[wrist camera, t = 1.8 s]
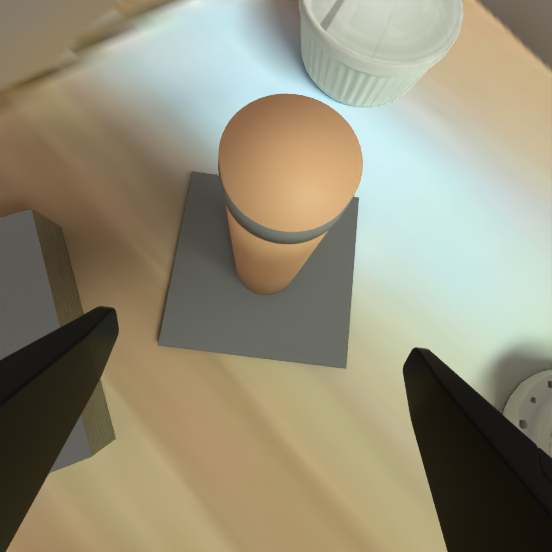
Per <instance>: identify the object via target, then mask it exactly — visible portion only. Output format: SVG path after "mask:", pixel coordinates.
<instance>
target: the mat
mask: <svg viewBox="0 0 552 552" xmlns="http://www.w3.org/2000/svg"><path fill="white" fill-rule="evenodd" d="M358 202H359V198H357V197H353V199H352V200H351V202H350V204H349V206H348V207H347V208H346V210H345V211H344V212H343V214H342V215H341V216H340V218H339V219H338V220H337V222H336V223H335V224H334V225H333V226H332V227H331V228H330V229H329V230H328V232H327V233H326V234H325V236H324V237H323V239H322V240H321V241H320V243H319V244H318V245H317V247H316V248H315V250H314V251H313V252H312V254H311V255H310V256H309V258H308V259H307V261H306V262H305V263H304V265H303V266H302V268H301V269H300V270H299V272H298V273H297V274H296V276H295V277H294V279H293V280H292V281H291V283H290V284H289V285H288V286H287V287H286V288H285V289H284V290H283V291H281V292H279V293H277V294H273V295H259V294H256V293H253V292H251V291H249V290H248V289H247V288H246V287H245V286H244V285H243V284H242V283H241V281H240V280H239V278H238V275H237V271H236V265H235V259H234V253H233V247H232V240H231V234H230V228H229V222H228V216H227V210H226V204H225V202H224V198H223V194H222V189H221V184H220V178H219V176H218V175H211V174H205V173H199V172H192V175H191V180H190V185H189V190H188V195H187V201H186V206H185V211H184V216H183V221H182V226H181V231H180V236H179V241H178V246H177V251H176V256H175V261H174V266H173V271H172V276H171V281H170V287H169V292H168V297H167V302H166V307H165V312H164V317H163V322H162V327H161V332H160V337H159V342H158V345H159V346H167V347H175V348H183V349H191V350H199V351H207V352H215V353H223V354H231V355H239V356H248V357H256V358H264V359H272V360H280V361H288V362H296V363H304V364H312V365H320V366H328V367H336V368H345V369H346V364H347V350H348V337H349V323H350V310H351V296H352V283H353V269H354V256H355V242H356V229H357V215H358Z"/></svg>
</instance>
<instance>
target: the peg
mask: <svg viewBox="0 0 552 552" xmlns="http://www.w3.org/2000/svg"><path fill="white" fill-rule="evenodd" d="M362 169H363V159H362V152H361V147H360V144H359V141H358V139H357V137H356V135H355V133H354V131H353V129H352V128H351V127H350V125H349V124H348V123H347V121H346V120H345V119H344V118H343V117H342V116H341V115H340V114H339V113H338V112H336V111H335V110H334V109H332V108H331V107H329V106H328V105H326V104H324V103H322V102H321V101H318V100H316V99H313V98H310V97H306V96H303V95H296V94H276V95H270V96H266V97H263V98H260V99H257V100H255V101H253V102H251V103H249V104H248V105H246V106H244V107H243V108H242V109H241V110H239V111H238V112H237V113H236V114H235V115H234V116H233V117H232V119H231V120H230V121H229V123H228V124H227V126H226V128H225V130H224V132H223V134H222V137H221V140H220V145H219V160H218V170H219V178H220V184H221V189H222V194H223V198H224V202H225V204H226V210H227V216H228V222H229V228H230V234H231V240H232V247H233V253H234V259H235V265H236V271H237V275H238V278H239V280H240V281H241V283H242V284H243V285H244V286H245V287H246V288H247V289H248V290H249V291H251V292H253V293H256V294H259V295H273V294H277V293H279V292H281V291H283V290H284V289H285V288H286V287H287V286H288V285H289V284H290V283H291V281H292V280H293V279H294V277H295V276H296V274H297V273H298V272H299V270H300V269H301V268H302V266H303V265H304V263H305V262H306V261H307V259H308V258H309V256H310V255H311V254H312V252H313V251H314V250H315V248H316V247H317V245H318V244H319V243H320V241H321V240H322V239H323V237H324V236H325V234H326V233H327V232H328V230H329V229H330V228H331V227H332V226H333V225H334V224H335V223H336V222H337V220H338V219H339V218H340V216H341V215H342V214H343V212H344V211H345V210H346V208H347V207H348V206H349V204H350V202H351V200H352V199H353V197H354V194H355V192H356V190H357V188H358V186H359V183H360V180H361V176H362Z"/></svg>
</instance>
